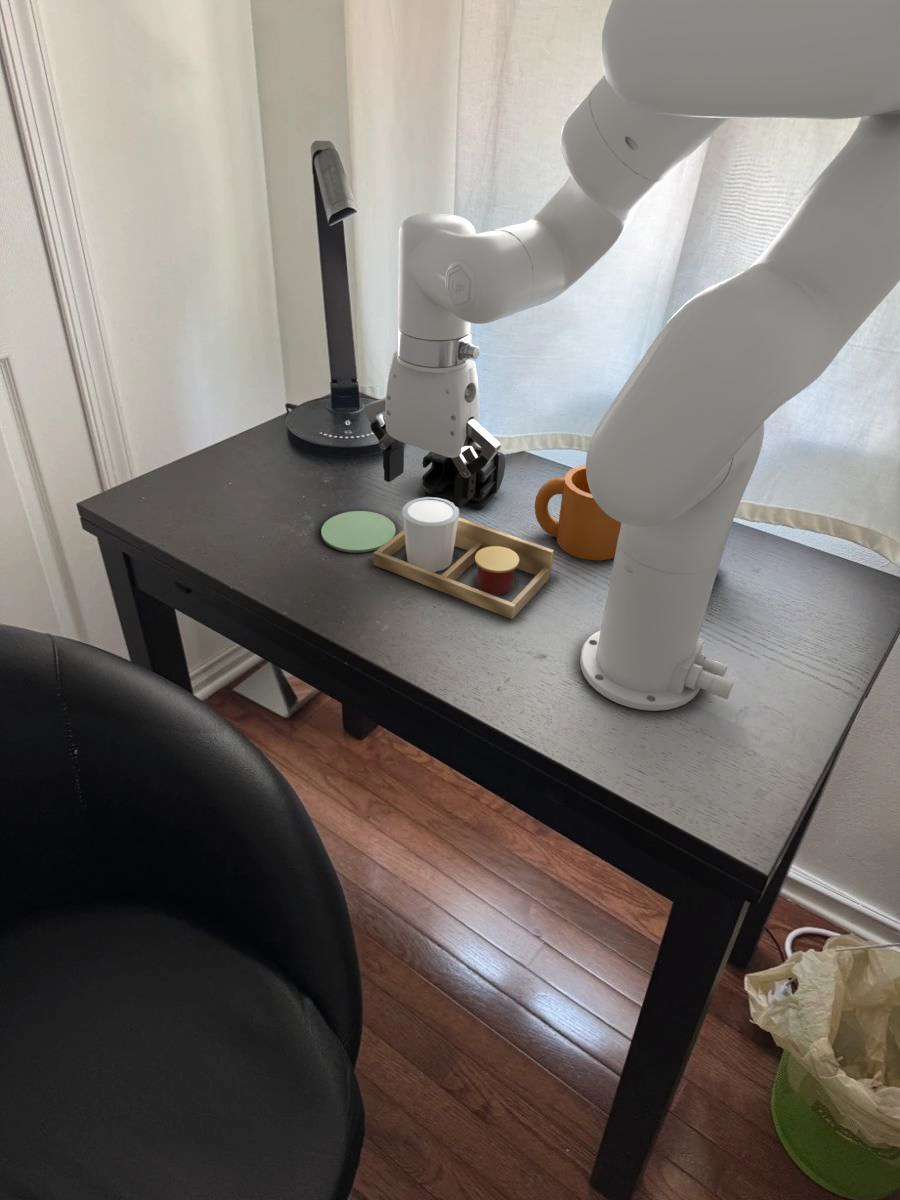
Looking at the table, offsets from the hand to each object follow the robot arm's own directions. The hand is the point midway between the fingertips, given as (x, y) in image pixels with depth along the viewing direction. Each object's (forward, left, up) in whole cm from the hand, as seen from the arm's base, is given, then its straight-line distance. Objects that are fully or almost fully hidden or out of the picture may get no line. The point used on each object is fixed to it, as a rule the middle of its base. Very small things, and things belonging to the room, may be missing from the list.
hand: (427, 489), depth 93 cm
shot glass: (-1, 0, -10) cm, 10 cm away
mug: (-14, -15, -10) cm, 23 cm away
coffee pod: (-10, 0, -10) cm, 14 cm away
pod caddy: (-5, 0, -10) cm, 11 cm away
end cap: (+5, -17, -10) cm, 20 cm away
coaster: (+10, 0, -10) cm, 14 cm away
